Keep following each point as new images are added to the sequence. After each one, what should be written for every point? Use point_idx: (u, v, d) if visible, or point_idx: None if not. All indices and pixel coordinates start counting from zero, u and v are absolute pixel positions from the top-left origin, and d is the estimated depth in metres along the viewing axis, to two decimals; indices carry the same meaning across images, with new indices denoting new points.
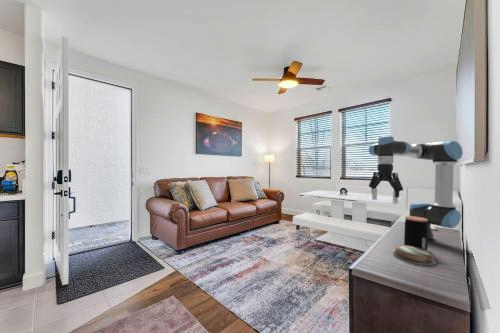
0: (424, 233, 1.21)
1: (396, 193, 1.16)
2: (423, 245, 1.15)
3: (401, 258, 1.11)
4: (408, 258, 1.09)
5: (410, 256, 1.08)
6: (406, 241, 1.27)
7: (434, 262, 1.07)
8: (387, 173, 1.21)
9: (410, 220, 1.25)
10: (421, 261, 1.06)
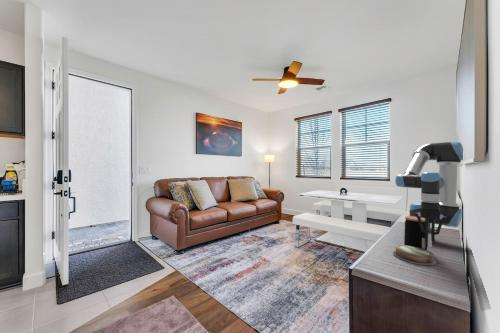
0: (424, 233, 1.21)
1: None
2: (423, 245, 1.16)
3: (401, 258, 1.11)
4: (408, 258, 1.09)
5: (411, 256, 1.08)
6: (406, 241, 1.27)
7: (434, 262, 1.07)
8: None
9: (410, 220, 1.25)
10: (421, 261, 1.06)
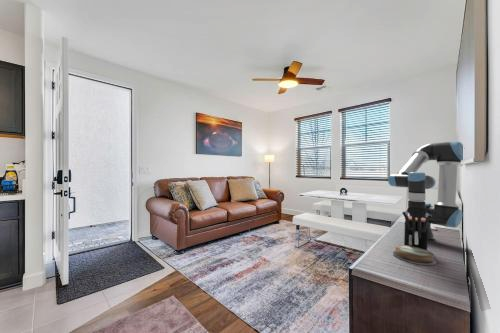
0: (424, 233, 1.21)
1: None
2: (411, 242, 1.20)
3: (401, 258, 1.11)
4: (424, 261, 1.06)
5: (426, 259, 1.06)
6: (406, 241, 1.27)
7: (434, 262, 1.07)
8: None
9: (410, 220, 1.25)
10: (432, 260, 1.07)
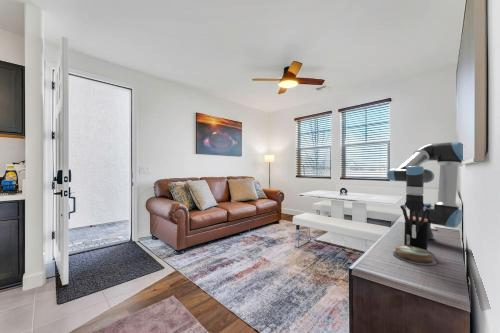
0: (424, 233, 1.21)
1: None
2: (409, 242, 1.20)
3: (401, 258, 1.11)
4: (426, 261, 1.06)
5: (428, 259, 1.06)
6: (406, 241, 1.27)
7: (434, 262, 1.07)
8: None
9: None
10: (433, 260, 1.08)
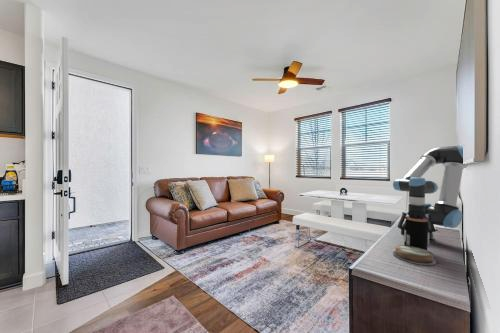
0: (424, 233, 1.21)
1: None
2: (409, 242, 1.20)
3: (401, 258, 1.11)
4: (426, 261, 1.06)
5: (428, 259, 1.06)
6: (406, 241, 1.27)
7: (434, 262, 1.07)
8: None
9: (410, 220, 1.25)
10: (433, 260, 1.08)
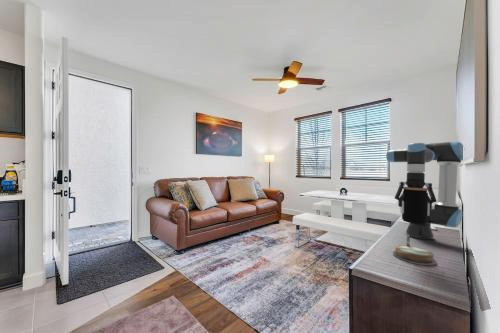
0: (424, 202, 1.10)
1: None
2: (409, 242, 1.20)
3: (401, 258, 1.11)
4: (426, 261, 1.06)
5: (428, 259, 1.06)
6: (404, 213, 1.15)
7: (434, 262, 1.07)
8: None
9: (408, 189, 1.13)
10: (433, 260, 1.08)
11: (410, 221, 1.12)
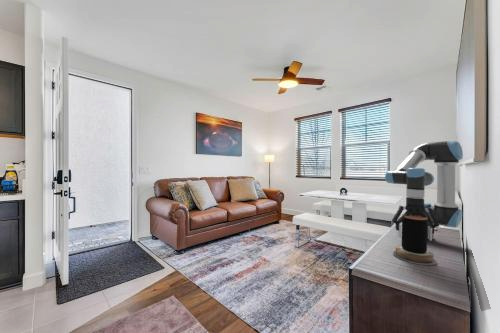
0: (423, 232, 1.09)
1: None
2: None
3: (401, 258, 1.11)
4: (426, 261, 1.06)
5: (428, 259, 1.06)
6: (403, 241, 1.14)
7: (434, 262, 1.07)
8: None
9: (408, 218, 1.12)
10: (433, 260, 1.08)
11: (410, 250, 1.11)
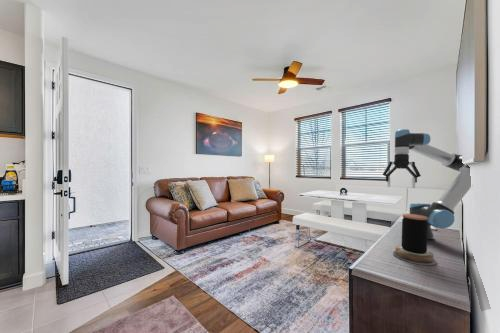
0: (423, 232, 1.09)
1: None
2: None
3: (401, 258, 1.11)
4: (426, 261, 1.06)
5: (428, 259, 1.06)
6: (404, 241, 1.14)
7: (434, 262, 1.07)
8: None
9: (408, 218, 1.12)
10: (433, 260, 1.08)
11: (410, 250, 1.11)
